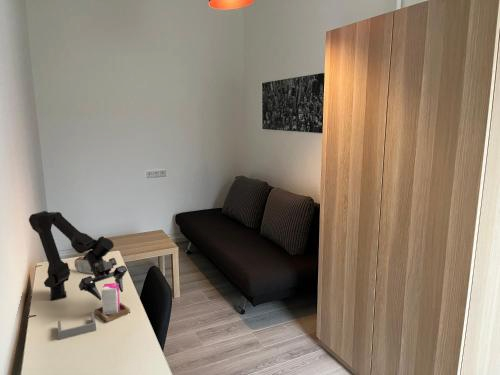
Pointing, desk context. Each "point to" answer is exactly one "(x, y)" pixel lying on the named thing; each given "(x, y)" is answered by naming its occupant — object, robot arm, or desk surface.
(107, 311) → the supplement box
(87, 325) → the stall
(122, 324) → the desk surface
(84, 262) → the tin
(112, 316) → the tray
